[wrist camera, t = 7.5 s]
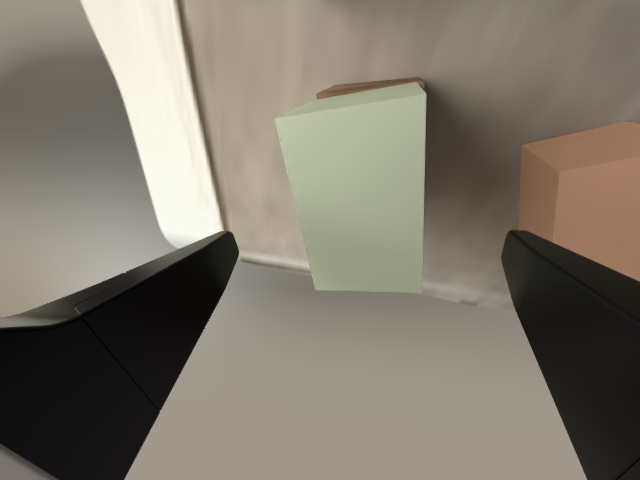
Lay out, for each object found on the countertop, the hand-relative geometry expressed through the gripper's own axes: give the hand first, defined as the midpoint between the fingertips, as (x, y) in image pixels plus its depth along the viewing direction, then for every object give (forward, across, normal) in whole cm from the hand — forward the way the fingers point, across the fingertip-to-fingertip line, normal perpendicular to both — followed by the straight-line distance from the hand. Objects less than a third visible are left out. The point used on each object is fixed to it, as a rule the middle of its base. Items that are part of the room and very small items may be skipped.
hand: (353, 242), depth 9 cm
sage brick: (+7, 0, 0) cm, 7 cm away
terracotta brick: (+12, -12, +4) cm, 18 cm away
